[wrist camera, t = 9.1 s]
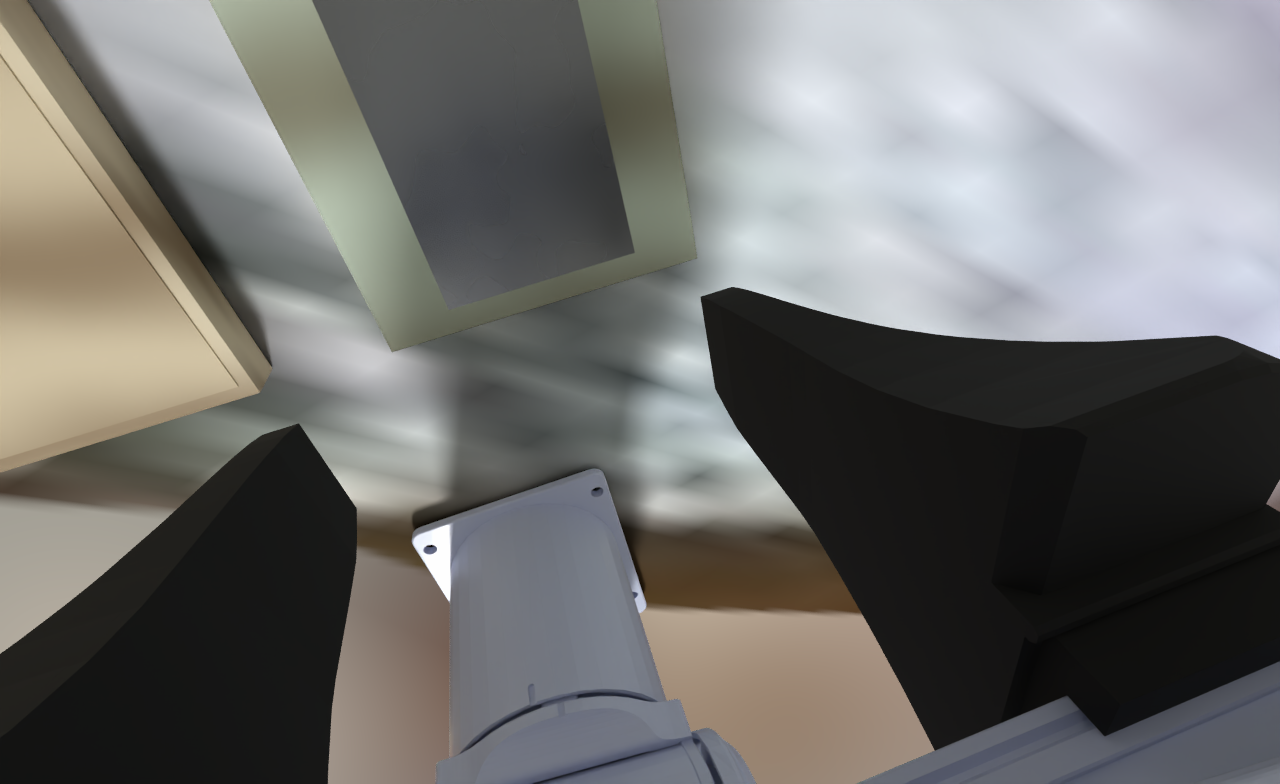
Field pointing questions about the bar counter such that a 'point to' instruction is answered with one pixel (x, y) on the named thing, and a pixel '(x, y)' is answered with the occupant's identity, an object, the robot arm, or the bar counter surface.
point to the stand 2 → (367, 200)
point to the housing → (486, 135)
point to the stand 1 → (94, 274)
